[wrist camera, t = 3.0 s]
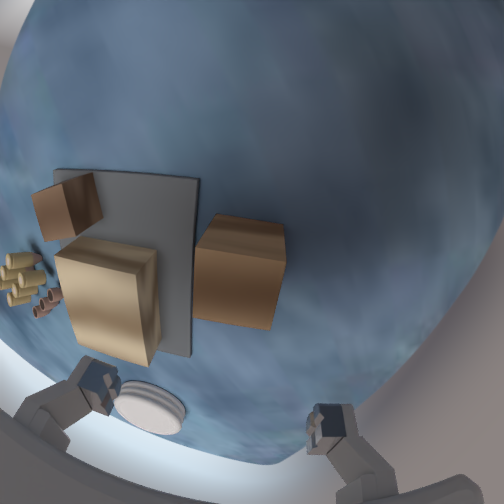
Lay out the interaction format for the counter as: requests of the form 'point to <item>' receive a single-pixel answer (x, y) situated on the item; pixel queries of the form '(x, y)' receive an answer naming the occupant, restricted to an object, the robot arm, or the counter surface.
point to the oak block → (239, 271)
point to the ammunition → (27, 282)
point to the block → (67, 207)
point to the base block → (112, 297)
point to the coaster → (150, 408)
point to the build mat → (152, 237)
